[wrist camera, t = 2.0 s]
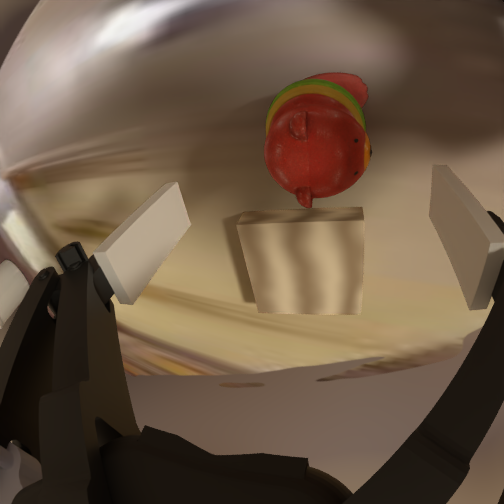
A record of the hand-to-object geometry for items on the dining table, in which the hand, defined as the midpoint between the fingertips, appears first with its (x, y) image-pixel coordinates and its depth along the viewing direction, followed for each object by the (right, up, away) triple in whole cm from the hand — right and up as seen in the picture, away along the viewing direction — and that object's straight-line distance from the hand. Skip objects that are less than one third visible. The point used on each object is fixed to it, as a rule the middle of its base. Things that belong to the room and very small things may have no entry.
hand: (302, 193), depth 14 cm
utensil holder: (-79, -11, +61) cm, 100 cm away
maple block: (+6, -3, +29) cm, 30 cm away
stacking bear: (+6, +13, +17) cm, 22 cm away
